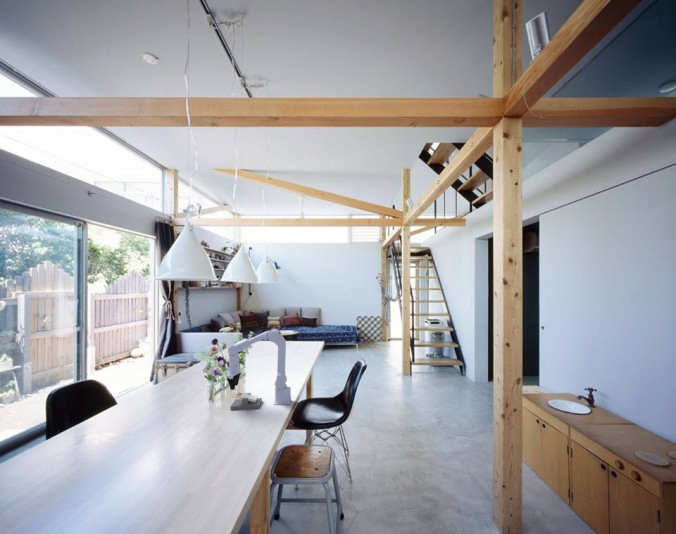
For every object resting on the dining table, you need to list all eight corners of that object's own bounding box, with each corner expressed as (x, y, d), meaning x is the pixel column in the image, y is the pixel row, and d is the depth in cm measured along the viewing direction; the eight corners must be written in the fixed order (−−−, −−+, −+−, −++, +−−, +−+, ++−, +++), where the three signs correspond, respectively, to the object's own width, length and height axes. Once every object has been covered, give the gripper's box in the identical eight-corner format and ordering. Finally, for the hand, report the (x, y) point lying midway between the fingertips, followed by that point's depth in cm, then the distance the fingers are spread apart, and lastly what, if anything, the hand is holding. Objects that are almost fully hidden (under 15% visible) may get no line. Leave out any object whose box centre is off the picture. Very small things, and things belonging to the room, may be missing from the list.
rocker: (257, 398, 192) (257, 396, 192) (255, 402, 186) (255, 399, 186) (237, 394, 192) (238, 391, 192) (235, 397, 186) (235, 395, 186)
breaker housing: (261, 401, 195) (261, 392, 195) (258, 408, 184) (258, 398, 184) (235, 402, 194) (235, 393, 194) (230, 409, 183) (230, 400, 183)
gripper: (230, 361, 199) (230, 383, 199) (223, 368, 185) (223, 392, 184) (242, 361, 200) (242, 383, 199) (236, 367, 185) (236, 391, 185)
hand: (234, 387), depth 192 cm, fingers open, 7 cm apart
